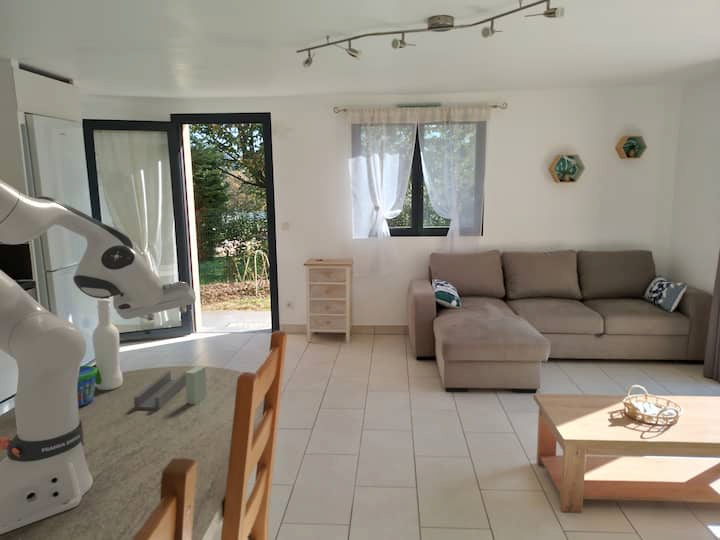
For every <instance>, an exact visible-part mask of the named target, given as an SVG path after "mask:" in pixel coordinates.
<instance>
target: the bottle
mask: <svg viewBox="0 0 720 540" xmlns="http://www.w3.org/2000/svg"><path fill="white" fill-rule="evenodd" d="M110 302H111V300H110V299H109V298H98V299H97V306H96V307H97V313H98V314H97V316H98V317H97V318H98V325H97V326H96V327H95V329H94V330H93V333H92V337H91V338H92V346H93V353H94V359H95V367H96V368H98V370H99V371H100V374H101V378H102V382H101V384H96V383H95V388H97V389H98V390H99V391H110V390H111V391H112V390H115V389H118V388H119V387H120V386H122V385H123V380H124V379H123V372H122V371H121V368H120V332H119V329H118V328H117V327H116V326H115V325H114V324H113V323H112V315H111V304H110Z"/></svg>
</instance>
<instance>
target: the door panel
mask: <svg viewBox="0 0 720 540" xmlns="http://www.w3.org/2000/svg"><path fill="white" fill-rule="evenodd" d="M184 372H185V377H186V385H185V393H186V394H185V395H186V404H188V403H189V405H194V404H195V405H197V404H198V403H200V402H201V401H203V400H204V399H206V398H207V397H208V396H207V373H206V372H207V371H206V366H198V365H196V366H194V367H193V368H191V369H189V370H187V371H184ZM206 396H207V397H206ZM205 397H206V398H205ZM202 399H203V400H202Z"/></svg>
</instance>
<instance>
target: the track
mask: <svg viewBox="0 0 720 540" xmlns="http://www.w3.org/2000/svg"><path fill="white" fill-rule="evenodd" d="M185 372H186V371H184V372H183V373H182V374H180V375H179V376H178V377H177V378H175V379H171V378H172V377H171V371H165V372H164V373H163V374H162V375H161V376H159V377H158V378H157V379H156V380H154V381H153V382H151V383H150V384H149V385H148V386H146V387H145V388H144V389H143V390H141V391H140V392H139V393H137V394H136V395H135V396H134V398H133V399H134V410H150V411H153V410H154V411H156V410H157V411H159V410H160V409H162V408H163V407H164V406H165V405H166V404H167V403H168V402H170V400H171V399H173V398H174V397H175V396H176V395H177V394H178V393H179V392H180V391H181V390H182V389H183V388H184V387H186V377H185Z"/></svg>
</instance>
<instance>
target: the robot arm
mask: <svg viewBox="0 0 720 540" xmlns="http://www.w3.org/2000/svg"><path fill="white" fill-rule="evenodd" d="M56 225H57V226H60V227H62V228H64V229H67V230H69V231H71V232H73V233H75V234H76V235H80V236H81V237H83V238H85V240H86V243H87V244H86V245H87V246H86V249H85V250H84V253H83V255H82V257H81V260H80V261H79V263H78V265H77V267H76V270H75V271H74V272H75V273H74V275H73V279H72V280H73V282H74V284H75V286H76V287H77V289H79V290H80V291H81V292H82V293H83V294H85V295H87V296H89V297H92V298H95V299H96V298H97V299H109V298H112V297H113V299H112V301H113V302H112V303H113V309H114V310H116V313H117V314H118V315H119V317H121V318H122V319H123V320H130V319H134V318H140V319H146V320H147V321H148V322H150V321H153V320H154V319H155V315H154V314H156V313H161V312H165V311H169V310H173V309H177V308H178V310H179V312H180V314H183V313H187V306H190V305H194V303H196V299H197V298H196V291H195V290H194V289H193V288H192V287H191V286H190V285H189V283H187V282H184V281H176V282H172V283H168V284H164V282H163V281H162V279H160V278H159V276H158V275H157V273H156V272H155V271H153V270H152V269H151V266H150V265H149V264H148V262H147V261H146V259H144V258H143V256H141V254H140V253H138V252H137V251H135V250H134V249H133V248H134V245H133V243H132V240H131V238H130V237H129V235H128V234H127V233H126V232H125V231H123V230H121V229H119V228H117V227H114V226H111V225H108V224H105V223H103V222H101V221H100V220H97V219H96V218H94V217H92V216H89V215H88V214H86V213H84V212H82V211H81V210H78V209H76V208H74V207H72V206H71V205H68V204H67V203H64V202H62V201H60V200H58V199H55V198H53V197H48V196H38V197H32V196H28V195H26V194H24V193H22V192H20V191H19V190H17V189H16V188H15V187H13V186H11V185H10V184H8V183H7V182H5V181H3V180H2V179H0V243H1V244H5V245H21V244H24V243H28V242H30V241H33V240H35V239H37V238H39V237H40V236H42V235H43V234H44V233H46V232H48V230H49V229H51V227H54V226H56ZM0 350H1V351H3V352H4V353H5V354H7V355H9V356H10V357H11V358H13V359H14V360H15V362H16V365H17V372H18V374H17V375H18V377H17V385H16V386H17V387H16V394H15V395H14V398H13V404H14V413H15V424H16V434H15V436H14V437H13V439H10V438H9V437H6V436H4V437H2V438H0V449H1V450H6V453H7V456H6V457H5V458H4V459H2V461H0V535H3V534H6V533H8V532H11V531H13V530H16V529H19V528H22V527H24V526H27V525H30V524H33V523H35V522H39V521H40V520H41V521H42V520H43V519H47V518H48V517H52V516H54V515H57V514H60V513H62V512H64V511H65V512H66V511H67V510H70V509H73V508H75V507H77V506H78V505H79V504H80V503H81V500H82V498H83V496H84V495H85V494H86V493H87V492H89V490H90V489H91V487H92V485H93V483H94V478H93V476H92V474H91V473H90V470H89V467H88V464H87V461H86V458H85V452H84V443H85V442H84V437H85V436H84V435H85V434H84V428H83V424H82V421H81V420H80V411H79V406H78V395H77V385H78V377H79V370H80V366H81V364H82V361H83V360H84V358H85V355H86V353H87V342H86V339H85V337H84V335H83V333H82V332H81V331H80V329H79V328H78V326H76V325H75V324H74V323H72V322H71V321H68V319H67V320H66V319H65V318H63V317H60V316H58V315H56V314H54V313H52V312H50V310H48V309H46V308H45V307H44V306H43V305H42V304H40V303H39V302H38V301H37V300H36V299H35V298H33V297H32V296H31V295H30V294H29V293H28V292H27V291H26V290H25V289H24V288H23V287H21V285H20V284H18V283H17V282H16V281H15V280H14V279H13V278H12V277H10V276H9V275H8V274H6V273H5V272H4V271H3V270H2V269H0Z"/></svg>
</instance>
